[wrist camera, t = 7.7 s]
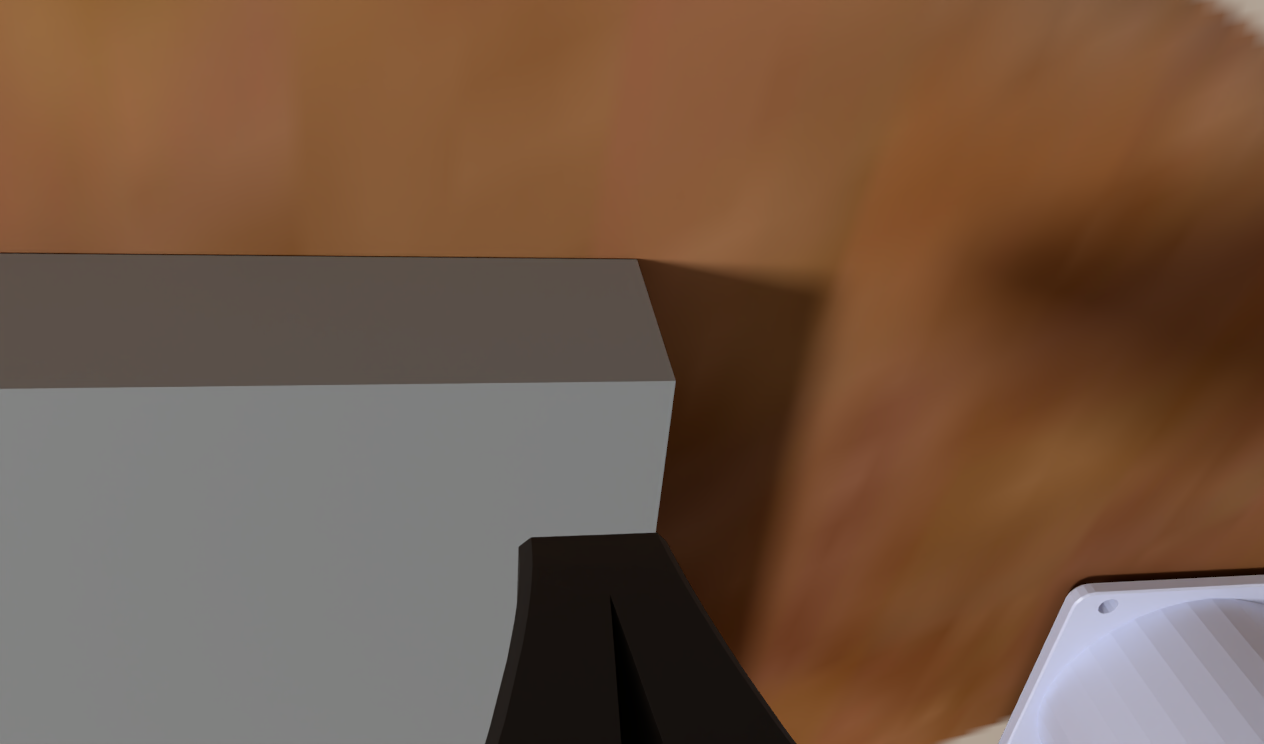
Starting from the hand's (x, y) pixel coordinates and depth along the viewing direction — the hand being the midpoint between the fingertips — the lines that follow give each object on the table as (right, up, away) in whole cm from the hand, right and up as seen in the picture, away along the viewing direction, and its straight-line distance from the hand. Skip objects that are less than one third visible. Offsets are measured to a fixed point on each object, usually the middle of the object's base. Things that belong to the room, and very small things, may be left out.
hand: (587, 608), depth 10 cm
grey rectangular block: (-6, -1, +11) cm, 13 cm away
